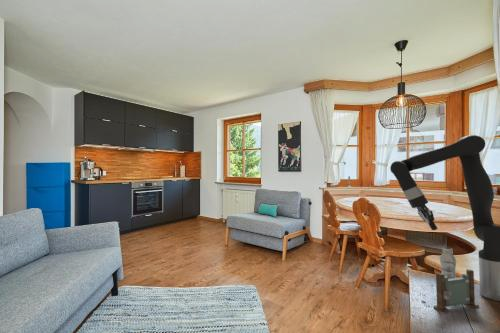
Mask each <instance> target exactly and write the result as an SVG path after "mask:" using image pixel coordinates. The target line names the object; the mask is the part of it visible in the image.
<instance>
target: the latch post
mask: <svg viewBox="0 0 500 333" xmlns="http://www.w3.org/2000/svg"><path fill="white" fill-rule="evenodd" d="M435 282H436V283H435V286H436V289H435V290H436V305H433V309H434V310H436V311H438V312H440V313H442V314H444V313H449V312H450V309H449V308H448V307H445V299H446V300H447V299H451V291H449V290H445V278H444V274H442V272H435Z"/></svg>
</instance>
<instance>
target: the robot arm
mask: <svg viewBox="0 0 500 333" xmlns="http://www.w3.org/2000/svg"><path fill="white" fill-rule="evenodd" d="M485 147H486V141H485V139H484V138H483V137H481V136H479V135H475V134H469V135H466V136H462V137H460V138H459V139H458V140H457V141H456V142H454V143H451V144H449V145H445V146H442V147H440V148H435V149H433V150H432V149H431V150H428V151H425V152H422V153H419V154H415V155H412V156H411V157H410V156H409V157H408V158H406V159H402V160H395V161H394V162H392V163H391V165H390V167H389V169H390V172H391V173H392V174H393V176H394V178H396V180H397V183H398V185H399V187H400V189H401V190H402V191H403V194H404V197H405V198H406V199H407V202H408V204H409V205H410V207H411V208H412V209H417V214H418V216H419V217H420V218H421V219H422V220H423V221H424V222H425V223H426V224H427V225H428V226H429V227H430V229H431V231H436V230H438V227H437V225H436V223H435V221H436V219H435V216H434V213H433V212H434V211H432V210H431V209H430V208H429V207H427V205H426V204H429V201H428V199H427V197H426V196H425V194H424V192H423V191H422V189H421V188H420V187H419V186H418V184H417V182H416V181H415V179H414V178H413V177H412V174H411V172H412V171H414V170H419V169H423V168H426V167H430V166H432V165H435V164H438V163H441V162H444V161H447V160H450V159H454V158H459V160H460V161H459V162H460V163H461V166H462V174H463V179H464V184H465V188H466V194H467V197H468V201H469V202H468V203H469V206H470V209H471V214H472V222H473V223H472V224H473V225H472V226H473V232H474V234H475V237H476V238H477V240H480V241H482V242H483V248H482V249H479V251H478V273H479V274H478V275H479V278H478V279H479V294H480V295H481V296H482V297H485V298H487V299H490V300H492V301H499V302H500V225H498V224H495V223H494V220H493V216H492V205H493V202H494V198H495V195H494V194H495V193H494V188H493V184H492V181H491V178H490V176H489V174H488V173H487V171H486V170H485V167H484V166H483V163H482V161H481V155H480V154H481V152H482V151H484V149H485Z"/></svg>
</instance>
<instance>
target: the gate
mask: <svg viewBox="0 0 500 333" xmlns="http://www.w3.org/2000/svg"><path fill="white" fill-rule="evenodd" d="M444 278H445V290H449V291H451V299H447V300H446V299H445V307H446V308H449V307H454V306H455V307H456V306H460V305H465V304H470V298H469V275H467V274H466V273H462V274H461V277H456V278H452V279H448V277H445V276H444Z"/></svg>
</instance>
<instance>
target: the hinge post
mask: <svg viewBox="0 0 500 333" xmlns="http://www.w3.org/2000/svg"><path fill="white" fill-rule="evenodd" d="M465 271H466V273H465V274H467V275H469V298H470V304H464V306H466V307H469V308H471V309H476V308H480V304H478V303H476V301H475V300H476V298H475V273H474V270H473V269H466V270H465Z"/></svg>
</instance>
